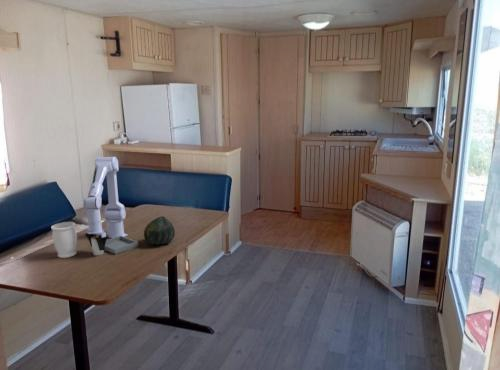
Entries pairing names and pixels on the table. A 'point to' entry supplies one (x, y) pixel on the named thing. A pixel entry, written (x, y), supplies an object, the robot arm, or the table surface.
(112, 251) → the tray
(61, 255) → the jar
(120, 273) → the table surface
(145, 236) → the squash
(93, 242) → the cup
